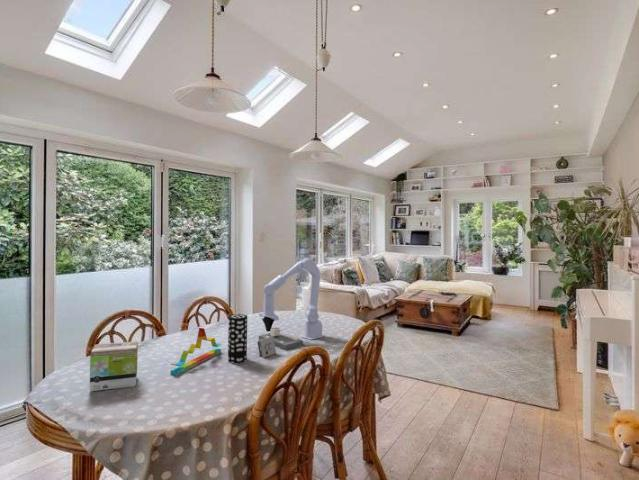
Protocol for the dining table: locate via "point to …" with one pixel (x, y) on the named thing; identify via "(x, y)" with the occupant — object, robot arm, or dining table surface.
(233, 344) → the white-spotted black cylinder
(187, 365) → the chart
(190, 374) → the dining table surface
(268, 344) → the electrical switch
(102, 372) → the tea box
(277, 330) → the block
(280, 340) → the panel
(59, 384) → the dining table surface
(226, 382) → the dining table surface
